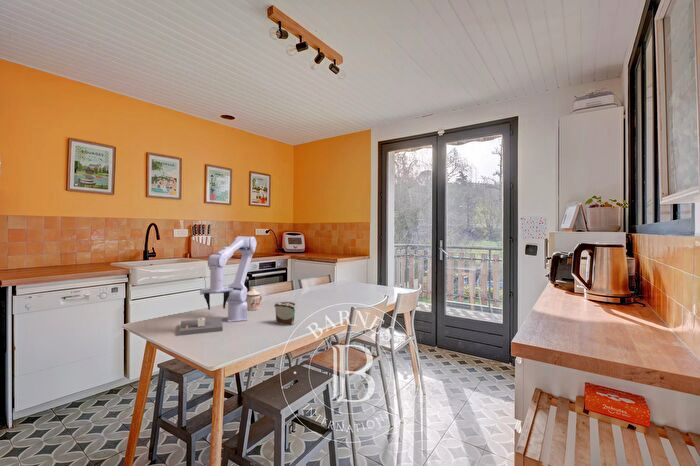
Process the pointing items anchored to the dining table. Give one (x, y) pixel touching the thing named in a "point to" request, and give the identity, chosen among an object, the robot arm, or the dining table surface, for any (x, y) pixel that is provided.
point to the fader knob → (201, 321)
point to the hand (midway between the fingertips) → (216, 308)
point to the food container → (285, 312)
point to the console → (192, 326)
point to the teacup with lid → (253, 300)
